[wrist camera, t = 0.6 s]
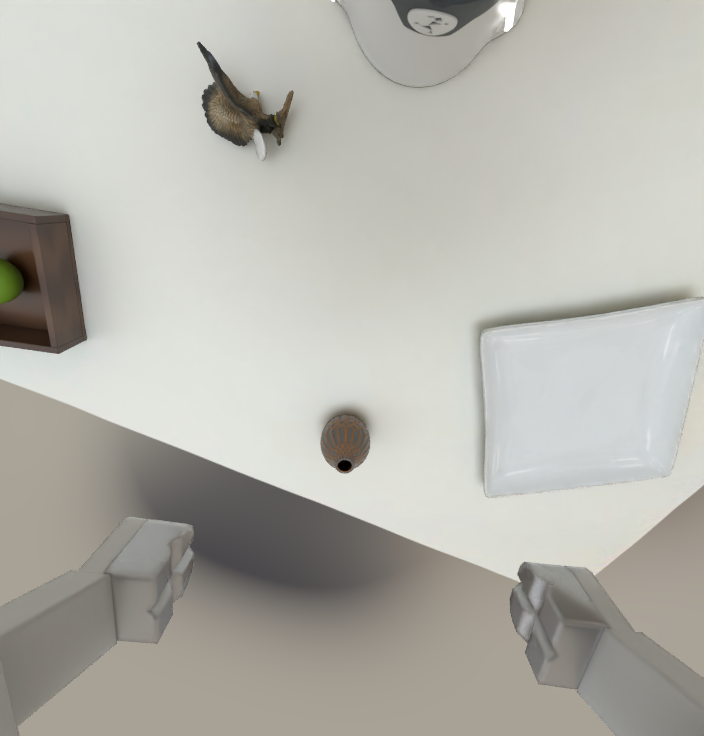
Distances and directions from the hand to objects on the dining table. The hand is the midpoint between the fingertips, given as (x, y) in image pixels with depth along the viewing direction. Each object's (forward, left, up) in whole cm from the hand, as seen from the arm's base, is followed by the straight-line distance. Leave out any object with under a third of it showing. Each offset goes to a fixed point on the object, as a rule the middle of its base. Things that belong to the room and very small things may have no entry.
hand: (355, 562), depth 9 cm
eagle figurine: (-15, -14, -40) cm, 45 cm away
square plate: (+12, +33, -40) cm, 54 cm away
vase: (+22, +2, -40) cm, 46 cm away
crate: (+6, -42, -40) cm, 58 cm away
